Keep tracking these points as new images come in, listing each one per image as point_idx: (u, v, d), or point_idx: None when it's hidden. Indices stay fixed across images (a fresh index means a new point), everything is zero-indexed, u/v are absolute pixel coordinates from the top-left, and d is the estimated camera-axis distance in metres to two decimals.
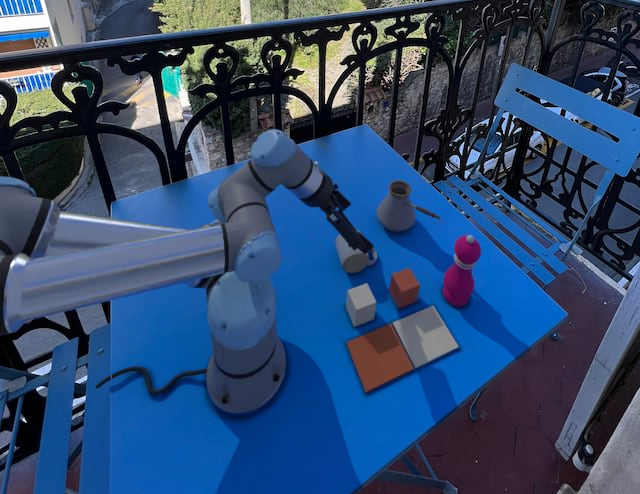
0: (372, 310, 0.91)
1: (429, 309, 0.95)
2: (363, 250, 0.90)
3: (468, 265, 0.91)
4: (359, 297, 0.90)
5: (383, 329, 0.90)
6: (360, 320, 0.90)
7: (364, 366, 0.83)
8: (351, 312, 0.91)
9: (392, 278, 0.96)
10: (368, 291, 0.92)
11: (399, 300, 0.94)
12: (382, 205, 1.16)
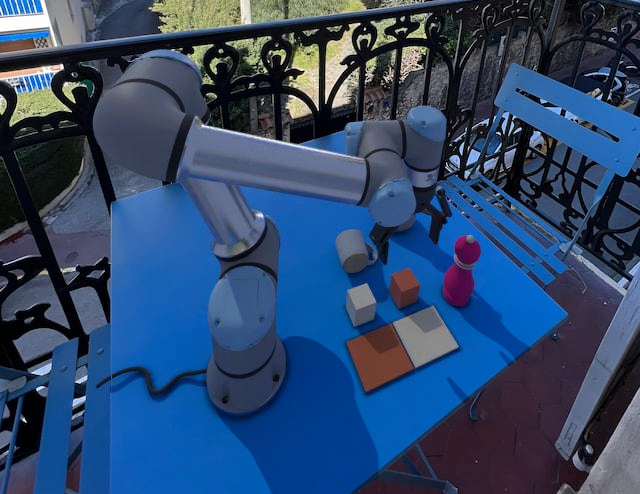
0: (372, 310, 0.91)
1: (429, 309, 0.95)
2: None
3: (468, 266, 0.91)
4: (359, 297, 0.90)
5: (383, 329, 0.90)
6: (360, 320, 0.90)
7: (364, 366, 0.83)
8: (351, 312, 0.91)
9: (392, 278, 0.96)
10: (368, 291, 0.92)
11: (399, 300, 0.94)
12: None
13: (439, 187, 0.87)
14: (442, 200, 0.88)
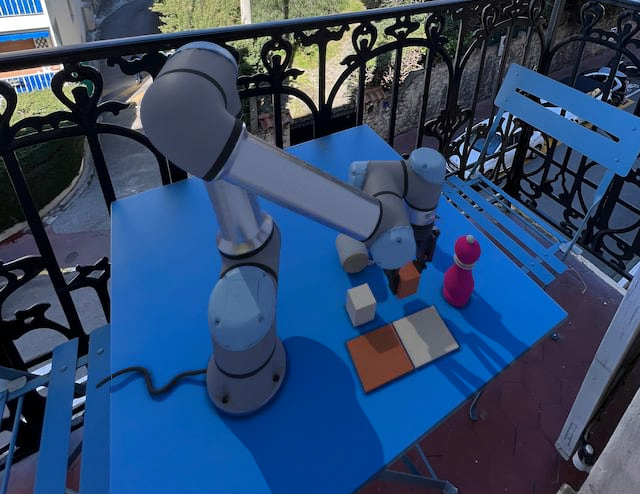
0: (372, 310, 0.91)
1: (429, 309, 0.95)
2: (389, 283, 0.95)
3: (468, 265, 0.91)
4: (359, 297, 0.90)
5: (383, 329, 0.90)
6: (360, 320, 0.90)
7: (364, 366, 0.83)
8: (351, 312, 0.91)
9: None
10: (368, 291, 0.92)
11: (399, 291, 0.93)
12: None
13: (435, 227, 0.92)
14: (433, 241, 0.92)
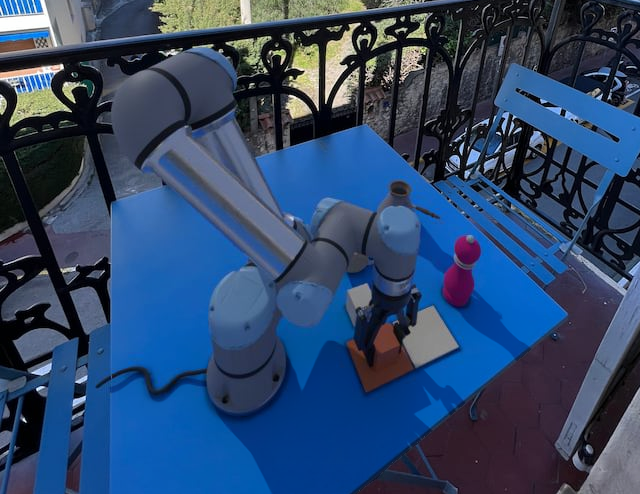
0: None
1: (429, 309, 0.95)
2: None
3: (468, 265, 0.91)
4: (359, 297, 0.90)
5: None
6: None
7: (364, 366, 0.83)
8: (351, 312, 0.91)
9: None
10: (368, 291, 0.92)
11: (375, 363, 0.81)
12: (382, 205, 1.16)
13: (416, 289, 0.80)
14: (414, 305, 0.80)
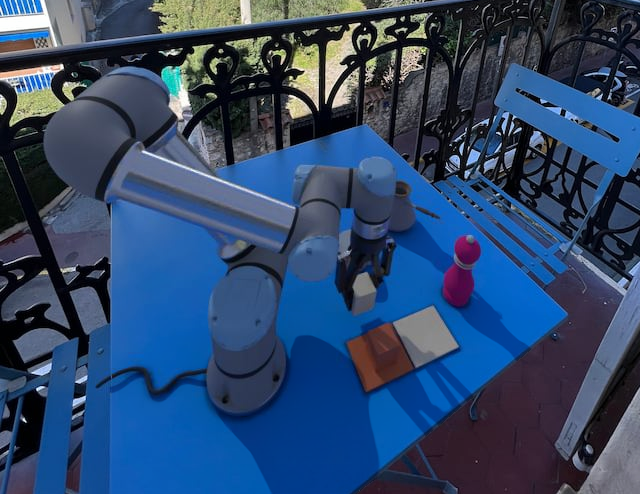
0: (372, 299, 0.89)
1: (429, 309, 0.95)
2: None
3: (468, 265, 0.91)
4: (359, 286, 0.89)
5: None
6: (359, 309, 0.89)
7: (364, 366, 0.83)
8: None
9: (368, 336, 0.83)
10: (368, 280, 0.90)
11: (375, 363, 0.81)
12: None
13: (392, 240, 0.87)
14: (389, 254, 0.87)
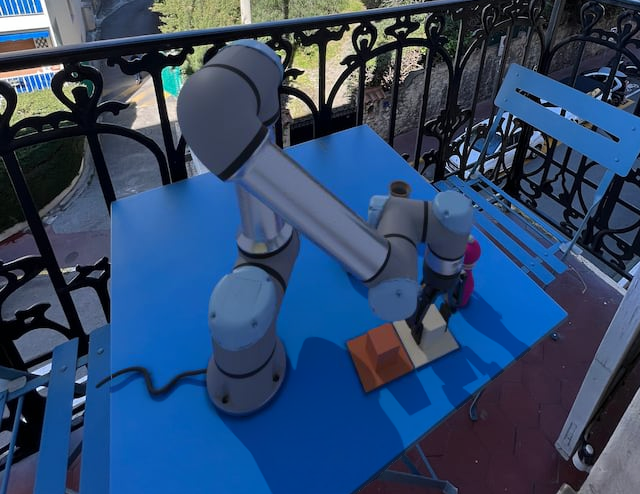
0: (441, 332, 0.87)
1: None
2: None
3: (468, 265, 0.91)
4: (428, 319, 0.87)
5: None
6: (429, 342, 0.86)
7: (364, 366, 0.83)
8: None
9: (368, 336, 0.83)
10: (436, 312, 0.88)
11: (375, 363, 0.81)
12: None
13: (463, 271, 0.85)
14: (461, 285, 0.85)
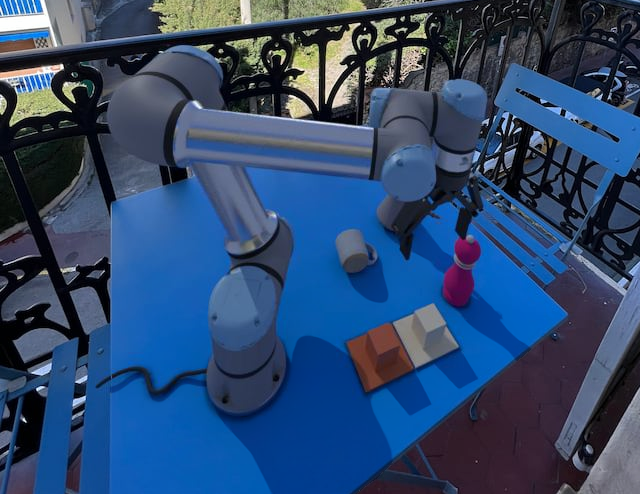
0: (441, 332, 0.87)
1: None
2: (401, 246, 0.79)
3: (468, 265, 0.91)
4: (428, 319, 0.87)
5: None
6: (429, 342, 0.86)
7: (364, 366, 0.83)
8: (418, 334, 0.88)
9: (368, 336, 0.83)
10: (436, 312, 0.88)
11: (375, 363, 0.81)
12: (382, 205, 1.16)
13: (471, 174, 0.78)
14: (474, 189, 0.78)
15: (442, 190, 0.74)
